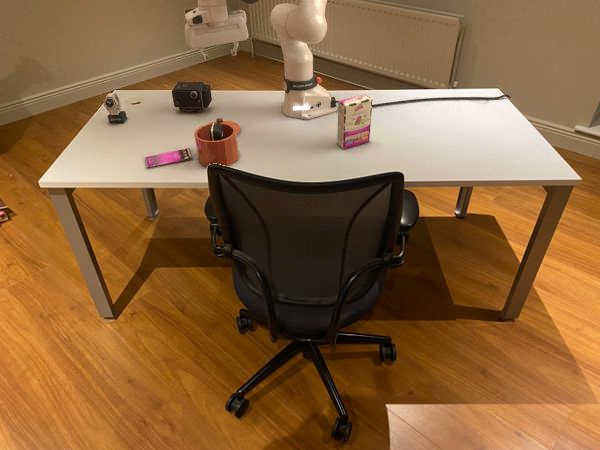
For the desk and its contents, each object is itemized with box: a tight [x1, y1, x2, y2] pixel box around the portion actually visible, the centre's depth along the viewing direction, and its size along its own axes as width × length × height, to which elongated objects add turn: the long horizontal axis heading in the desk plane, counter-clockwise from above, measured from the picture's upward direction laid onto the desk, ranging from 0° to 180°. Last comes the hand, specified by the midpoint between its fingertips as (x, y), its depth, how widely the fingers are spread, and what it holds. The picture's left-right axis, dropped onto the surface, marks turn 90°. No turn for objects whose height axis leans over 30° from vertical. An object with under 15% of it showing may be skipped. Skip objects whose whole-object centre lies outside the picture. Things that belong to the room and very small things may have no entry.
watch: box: [102, 92, 128, 124], centre depth 171 cm, size 6×8×11 cm
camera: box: [171, 81, 213, 113], centre depth 177 cm, size 11×11×15 cm
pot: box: [193, 123, 240, 167], centre depth 148 cm, size 14×14×10 cm
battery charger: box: [209, 122, 224, 141], centre depth 147 cm, size 7×4×11 cm, turn 2°
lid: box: [208, 117, 241, 136], centre depth 164 cm, size 15×15×5 cm
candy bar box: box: [336, 94, 373, 150], centre depth 152 cm, size 11×5×16 cm, turn 117°
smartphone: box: [145, 147, 193, 169], centre depth 150 cm, size 7×15×1 cm, turn 111°
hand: (220, 57), depth 146 cm, fingers open, 8 cm apart
